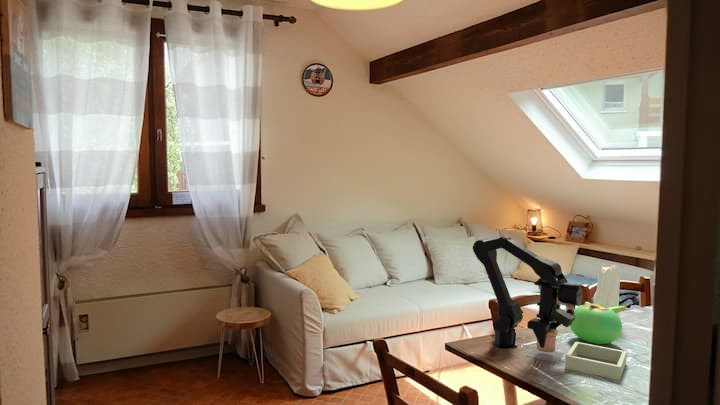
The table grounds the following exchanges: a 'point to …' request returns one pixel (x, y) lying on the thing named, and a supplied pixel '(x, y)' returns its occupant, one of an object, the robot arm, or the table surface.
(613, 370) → the pale green square tray
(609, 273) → the decorative vase
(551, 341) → the terracotta pot
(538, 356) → the slate pad
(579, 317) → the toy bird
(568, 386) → the table surface
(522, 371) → the table surface
